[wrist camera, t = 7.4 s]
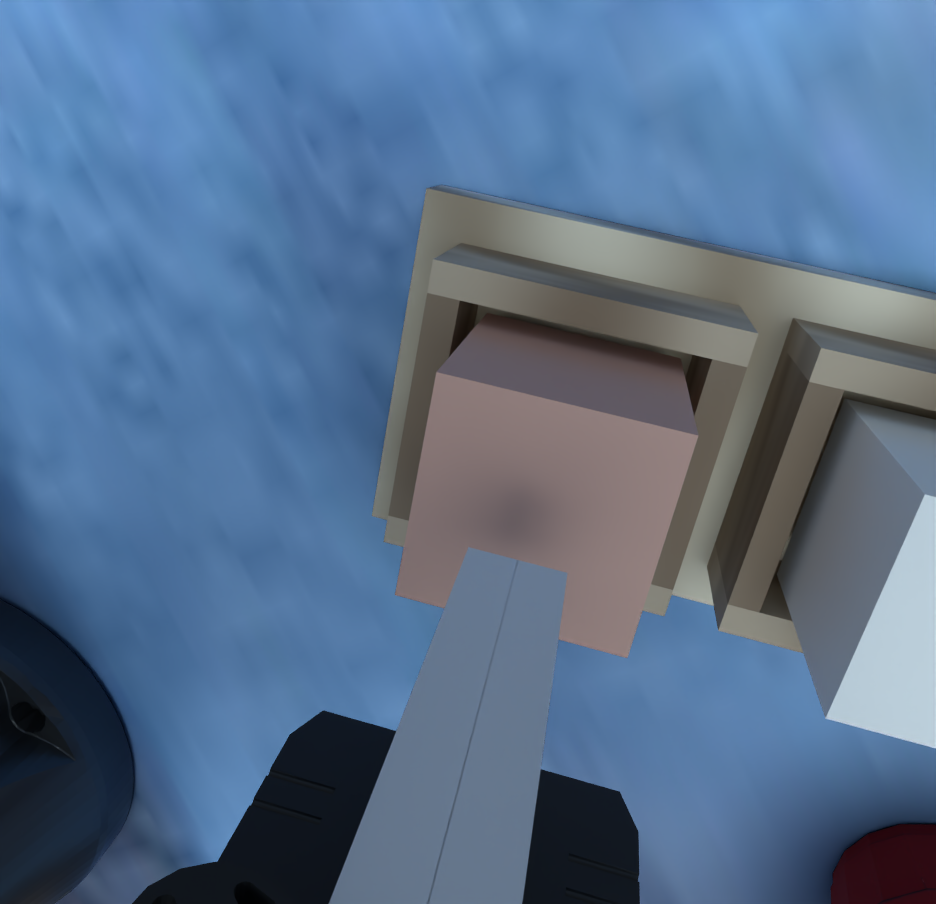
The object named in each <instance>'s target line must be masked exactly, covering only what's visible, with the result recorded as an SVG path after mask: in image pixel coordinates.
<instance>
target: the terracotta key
mask: <svg viewBox="0 0 936 904" xmlns="http://www.w3.org/2000/svg"><path fill="white" fill-rule="evenodd" d="M697 439H698V431H697V427H696V423H695V418H694V414H693V410H692V405H691V401H690V397H689V392H688V388H687V384H686V379H685V375H684V371H683V366H682V362H681V358H678V357H674V356H670V355H665V354H661V353H657V352H652V351H648V350H644V349H640V348H635V347H631V346H627V345H622V344H618V343H614V342H610V341H605V340H601V339H597V338H593V337H588V336H584V335H580V334H575V333H571V332H567V331H563V330H558V329H554V328H550V327H545V326H541V325H537V324H533V323H528V322H524V321H520V320H515V319H511V318H507V317H503V316H498V315H494V314H490V313H486V315H485V316H484V317H483V318H482V319H481V320H480V322H479V323H478V324H477V325H476V326H475V327H474V329H473V330H472V331H471V332H470V333H469V335H468V336H467V337H466V338H465V339H464V340H463V342H462V343H461V344H460V345H459V346H458V347H457V349H456V350H455V351H454V352H453V353H452V354H451V356H450V357H449V358H448V359H447V360H446V361H445V363H444V364H443V365H442V366H441V367H440V368H439V370H438V371H437V372H436V377H435V382H434V388H433V393H432V398H431V404H430V409H429V415H428V420H427V425H426V431H425V436H424V441H423V447H422V452H421V458H420V463H419V468H418V474H417V479H416V484H415V490H414V495H413V500H412V506H411V511H410V517H409V522H408V527H407V533H406V538H405V543H404V549H403V554H402V560H401V565H400V570H399V576H398V581H397V586H396V592H395V595H397V596H400V597H404V598H408V599H411V600H415V601H419V602H422V603H426V604H430V605H434V606H437V607H441V608H445V606H446V603H447V601H448V598H449V596H450V593H451V591H452V588H453V585H454V583H455V580H456V578H457V575H458V573H459V570H460V568H461V565H462V562H463V560H464V557H465V555H466V552H467V550H468V547H470V548H474V549H478V550H481V551H485V552H489V553H493V554H497V555H501V556H504V557H508V558H512V559H516V560H520V561H524V562H527V563H531V564H535V565H539V566H543V567H547V568H551V569H554V570H558V571H562V572H566V573H567V581H566V588H565V595H564V602H563V610H562V617H561V624H560V632H559V640H562V641H566V642H570V643H573V644H577V645H581V646H585V647H588V648H592V649H596V650H599V651H603V652H607V653H610V654H614V655H618V656H621V657H625V658H627V657H628V654H629V651H630V648H631V645H632V642H633V639H634V636H635V632H636V629H637V626H638V623H639V620H640V617H641V614H642V611H643V607H644V604H645V601H646V598H647V595H648V592H649V589H650V586H651V582H652V579H653V576H654V573H655V570H656V567H657V564H658V561H659V558H660V554H661V551H662V548H663V545H664V542H665V539H666V536H667V533H668V529H669V526H670V523H671V520H672V517H673V514H674V511H675V508H676V504H677V501H678V498H679V495H680V492H681V489H682V486H683V483H684V479H685V476H686V473H687V470H688V467H689V464H690V461H691V458H692V454H693V451H694V448H695V445H696V442H697Z"/></svg>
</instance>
